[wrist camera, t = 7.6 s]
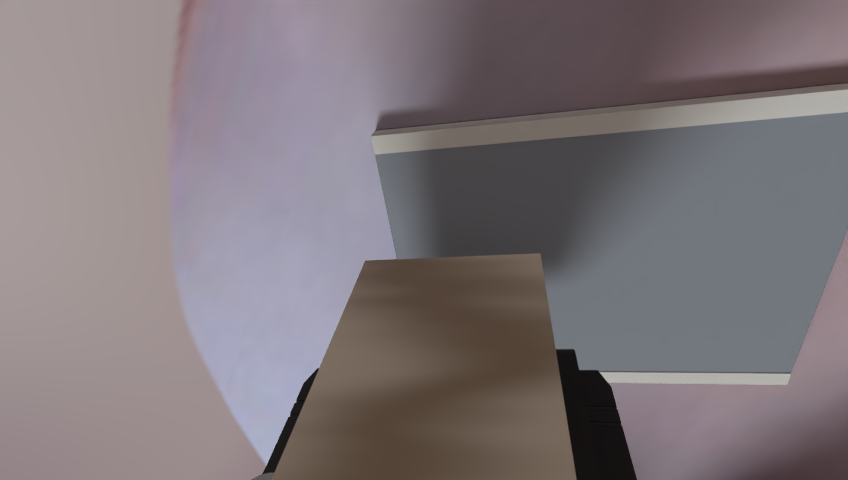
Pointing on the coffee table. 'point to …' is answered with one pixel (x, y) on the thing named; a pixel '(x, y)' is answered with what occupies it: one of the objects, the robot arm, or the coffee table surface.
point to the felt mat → (645, 223)
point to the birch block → (437, 378)
